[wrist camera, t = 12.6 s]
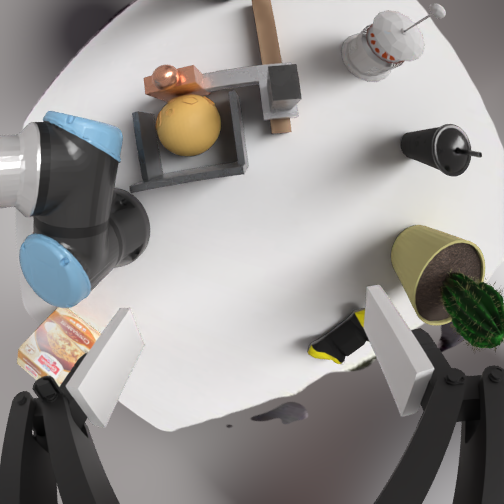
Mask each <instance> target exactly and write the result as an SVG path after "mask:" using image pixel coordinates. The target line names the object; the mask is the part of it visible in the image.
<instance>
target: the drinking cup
mask: <svg viewBox="0 0 504 504" xmlns="http://www.w3.org/2000/svg"><path fill="white" fill-rule="evenodd" d="M401 149H402V151H403V153H404V154H405V155H406V156H407V157H409V158H412V159H414V160H417V161H419V162H422V163H424V164H427V165H429V166H431V167H434V168H436V169H438V170H440V171H441V172H443V173H444V174H446V175H448V176H458V175H461V174H462V173H463V172H464V171H465V170H466V169H467V168H468V166H469V163H470V160H471V156H475V157H482V153H481V152H476V151H471V145H470V142H469V139H468V137H467V135H466V134H465V132H464V131H463V130H462V129H461V128H460V127H458V126H456V125H453V124H446V125H443V126H441V127H438V128H432V129H426V130H420V131H415V132H410V133H406V134H405V135H404V136H403V137H402V139H401Z"/></svg>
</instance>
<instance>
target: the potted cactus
mask: <svg viewBox="0 0 504 504" xmlns="http://www.w3.org/2000/svg"><path fill="white" fill-rule="evenodd" d="M391 262H392V265H393V268H394V270H395V272H396V274H397V276H398V278H399V280H400V281H401V283H402V285H403V287H404V289H405V291H406V293H407V295H408V298H409V300H410V302H411V304H412V306H413V308H414V310H415V312H416V314H417V316H418V317H419V318H420V319H421V320H422V321H423V322H425V323H427V324H430V325H443V324H447V323H449V322H451V321H452V322H453V325H454V326H455V328H456V330H455V331H457V333H458V332H459V333H460V334H459V333H458V334H459V335H461V336H463V337H464V339H465V340H467V341H468V342H469V343H471V345H472V346H474V347H475V346H476V347H480V348H493V347H496V346H498V345H500V342H503V339H504V303H503V297H502V296H501V295H500V294H499V293H500V292H499V293H498V292H497V290H494V288H493V287H492V286H490V285H487V283H484V282H483V281H484V276H485V260H484V257H483V254H482V252H481V250H480V248H479V247H478V246H477V245H476V244H474V243H472V242H470V241H466V240H464V239H462V238H459V237H456V236H453V235H450V234H447V233H444V232H441V231H438V230H435V229H432V228H429V227H426V226H422V225H415V226H411V227H409V228H407V229H405V230H404V231H403V232H401V233H400V235H399V236H398V237H397V238H396V240H395V242H394V244H393V247H392V251H391ZM485 279H486V278H485ZM485 282H486V281H485ZM451 326H452V324H451ZM454 326H452V327H454ZM455 328H454V329H455ZM453 333H454V332H453ZM458 334H457V335H458ZM455 335H456V334H455ZM502 337H503V338H502ZM460 338H461V337H460ZM458 341H459V340H458ZM463 341H464V340H463ZM460 343H461V342H460ZM495 350H496V348H495Z"/></svg>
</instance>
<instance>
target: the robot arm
mask: <svg viewBox="0 0 504 504" xmlns="http://www.w3.org/2000/svg"><path fill="white" fill-rule="evenodd" d="M43 121H44V122H31V123H29V124H28V125H27V126H26V127H25V128H24V129H23V130H22V131H21V132H20V133H19V134H17V135H0V208H6V207H13V206H14V207H16V208H17V209H18V210H19V211H20V212H21V213H22V214H23V215H24V216H25V217H31V216H34V232H33V234H31V235H29V236H28V237H27V238H26V240H25V242H24V243H23V244H22V245H21V248H20V254H19V258H20V265H21V269H22V272H23V274H24V276H25V278H26V280H27V282H28V284H29V285H30V286H31V287H32V289H33V290H34V292H35V293H36V294H37V295H38V296H39V297H40V298H42V299H43V300H44V301H46V302H47V303H49V304H51V305H53V306H56V307H59V308H70V307H73V306H75V305H77V304H78V303H79V302H80V301H81V300H83V299H84V298H86V297H88V295H89V294H90V292H91V291H92V290H93V289H94V288H95V287H96V286H97V284H98V283H99V282H100V281H101V280H102V279H103V278H104V277H105V276H106V275H107V274H108V273H109V272H110V271H111V270H112V269H113V268H117V267H121V266H125V265H128V264H130V263H132V262H133V261H135V260H136V259H137V258H138V257H139V256H140V255H141V254H142V253H143V251H144V250H145V248H146V246H147V244H148V241H149V237H150V224H149V219H148V216H147V213H146V211H145V209H144V207H143V206H142V204H141V203H140V202H139V200H138V199H137V198H136V197H134V196H133V195H132V194H130V193H129V192H127V191H125V190H122V189H117V188H114V185H115V179H116V174H117V168H118V163H120V161H121V159H120V152H121V147H122V141H123V136H122V132H121V131H120V129H119V128H117V127H115V126H112V125H109V124H105V123H101V122H98V121H94V120H89V119H85V118H81V117H76V116H72V115H67V114H63V113H59V112H54V111H48V112H47V113H46V115H45V117H44V118H43ZM364 330H365V332H366V335H367V337H368V339H369V341H370V343H371V346H372V348H373V350H374V352H375V355H376V357H377V359H378V362H379V364H380V366H381V368H382V371H383V373H384V375H385V378H386V380H387V383H388V385H389V387H390V390H391V392H392V395H393V397H394V400H395V402H396V405H397V407H398V410H399V412H400V415H401V417H403V416H407V415H411V414H414V413H417V412H418V409H419V407H420V405H421V406H422V408H423V410H424V412H423V414H422V416H421V418H420V420H419V423H418V425H417V427H416V430H415V432H414V434H413V436H412V438H411V440H410V442H409V444H408V446H407V448H406V450H405V452H404V454H403V456H402V458H401V460H400V461H399V463H398V465H397V467H396V468H395V470H394V472H393V474H392V475H391V477H390V479H389V480H388V482H387V484H386V485H385V487H384V488H383V490H382V492H381V493H380V495H379V496H378V498H377V499H376V501H375V502H374V504H422V502H423V501H424V499H425V497H426V495H427V493H428V491H429V489H430V487H431V485H432V482H433V480H434V478H435V476H436V474H437V472H438V469H439V467H440V465H441V462H442V460H443V457H444V455H445V452H446V449H447V447H448V444H449V442H450V439H451V436H452V433H453V430H454V427H455V424H456V422H459V421H462V427H461V428H462V429H461V445H460V457H459V466H458V474H457V481H456V488H455V493H454V499H453V504H504V369H502V368H501V367H499V366H489V367H487V368H485V370H484V372H483V373H482V375H478V376H466V375H465V374H464V373H463V372H462V371H461V370H459V369H456V368H451V367H450V365H449V364H448V362H447V360H446V359H445V358H444V356H443V354H442V353H441V351H440V350H439V348H437V345H436V344H435V342H433V340H432V338H431V337H430V335H429V334H428V333H427V332H425V331H424V330H422V329H421V328H419V329H415V330H410V328H409V327H408V325H407V324H406V322H405V321H404V319H403V318H402V316H401V315H400V313H399V312H398V310H397V309H396V307H395V306H394V304H393V303H392V301H391V300H390V299H389V297H388V296H387V294H386V293H385V291H384V290H383V289H382V287H381V286H380V285H374V286H367V290H366V305H365V318H364ZM144 346H145V344H144V341H143V339H142V336H141V334H140V331H139V329H138V326H137V323H136V321H135V318H134V315H133V313H132V310H131V308H120V309H119V310H118V312H117V313H116V314H115V316H114V317H113V318H112V320H111V321H110V322H109V324H108V325H107V327H106V328H105V329H104V331H103V332H102V333H101V335H100V336H99V338H98V339H97V340H96V342H95V343H94V345H93V346H92V348H91V349H90V350H89V352H88V353H85V354H84V355H82V356H81V357H80V358H79V359H78V360H77V362H76V363H75V364H74V367H72V369H71V372H69V373H68V375H67V376H66V378H65V379H64V381H63V382H62V384H61V385H60V387H59V386H58V384H57V383H56V381H55V380H54V378H53V377H51V376H43V377H41V378H39V379H38V380H37V381H36V382H35V383H34V385H33V390H34V392H35V393H36V395H37V396H38V398H33V397H32V396H31V394H30V393H29V392H27V391H23V392H20V393H18V394H17V395H16V396H15V397H14V399H13V401H12V406H11V409H10V413H9V418H8V422H7V427H6V432H5V438H4V443H3V449H2V456H1V464H0V504H58V503H57V486H58V489H59V493H60V496H61V499H62V502H63V504H120V503H119V501H118V499H117V497H116V495H115V493H114V491H113V489H112V487H111V485H110V483H109V480H108V478H107V476H106V474H105V471H104V469H103V466H102V464H101V461H100V459H99V456H98V454H97V451H96V449H95V446H94V443H93V440H92V438H91V435H90V432H89V429H88V426H87V425H86V423H85V421H86V419H87V418H88V419H89V420H90V422H91V423H92V424H93V425H96V426H100V427H106V425H107V423H108V420H109V418H110V416H111V414H112V412H113V410H114V408H115V405H116V403H117V401H118V399H119V397H120V395H121V393H122V391H123V389H124V386H125V384H126V382H127V380H128V378H129V376H130V374H131V372H132V370H133V368H134V366H135V364H136V362H137V360H138V358H139V356H140V354H141V352H142V350H143V348H144ZM32 430H33V431H34V435H32ZM56 482H57V483H56Z"/></svg>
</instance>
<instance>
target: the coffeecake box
mask: <svg viewBox="0 0 504 504" xmlns="http://www.w3.org/2000/svg"><path fill="white" fill-rule="evenodd" d="M100 335H101V334H100V333H99V332H98V331H96V330H95V329H94V328H92V327H91V326H90V325H88V324H87V323H86V322H84V321H83V320H82V319H80V318H79V317H78V316H77V315H75V314H74V313H73V312H72V311H70V310H69V309H68V308H59V307H58V308H57V309H56V310H55V311H54V312H53V313H52V314H51V315H50V316H49V317H48V318H47V319H46V320H45V321H44V322H43V323H42V324H41V325H40V326H39V327H38V328H37V329H36V330H35V331H34V332H33V334H31V336H30V337H29V338H28V339H27V340H26V341H25V342H24V343H23V344H22V345H21V347H20V348H19V350H18V359H17V364H18V365H20V366H21V367H22V368H23V369H24V370H25V371H26V372H28V373H29V374H30V375H31V376H32V377H33V378H35V379H36V380H38V379H39V378H41V377H43V376H51V377H53V378H54V380H55V381H56V383H57V384H58V386H59V387H60V385H61V384H62V382H63V381H64V379H65V378H66V376H67V375H68V373H69V372H71V369H72V367H74V364H75V363H76V362H77V360H78V359H79V358H80V357H81V356H82V355H84V354H85V353H88V352H89V350H90V349H91V348H92V346H93V345H94V343H95V342H96V340H97V339H98V338H99V336H100Z"/></svg>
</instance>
